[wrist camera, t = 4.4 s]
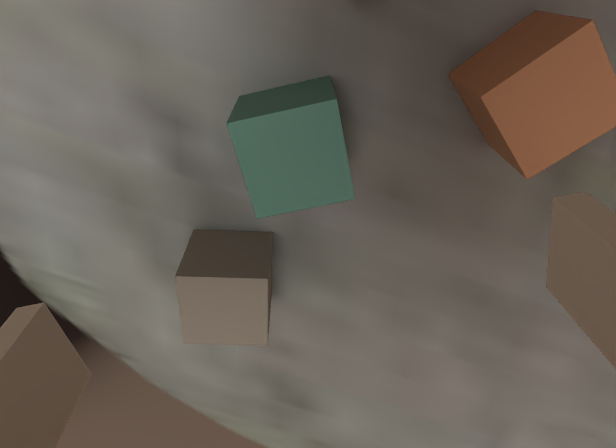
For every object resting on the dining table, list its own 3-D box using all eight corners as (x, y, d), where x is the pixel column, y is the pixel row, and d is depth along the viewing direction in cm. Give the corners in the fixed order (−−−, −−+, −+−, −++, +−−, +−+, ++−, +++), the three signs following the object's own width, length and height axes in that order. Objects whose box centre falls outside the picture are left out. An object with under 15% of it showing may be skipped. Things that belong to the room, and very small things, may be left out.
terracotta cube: (447, 73, 23) (480, 97, 19) (535, 10, 22) (593, 19, 18) (488, 144, 25) (527, 179, 21) (571, 90, 24) (631, 116, 20)
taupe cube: (194, 228, 28) (175, 276, 23) (272, 231, 28) (267, 278, 24) (199, 290, 30) (183, 343, 26) (271, 292, 31) (267, 345, 26)
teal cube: (239, 95, 24) (226, 123, 19) (329, 75, 23) (336, 98, 19) (263, 177, 26) (256, 218, 22) (345, 160, 26) (355, 199, 21)
